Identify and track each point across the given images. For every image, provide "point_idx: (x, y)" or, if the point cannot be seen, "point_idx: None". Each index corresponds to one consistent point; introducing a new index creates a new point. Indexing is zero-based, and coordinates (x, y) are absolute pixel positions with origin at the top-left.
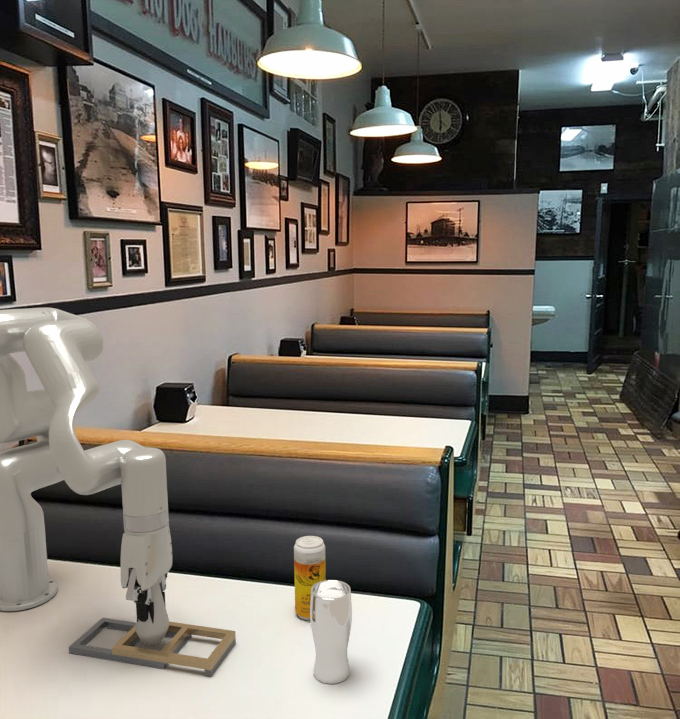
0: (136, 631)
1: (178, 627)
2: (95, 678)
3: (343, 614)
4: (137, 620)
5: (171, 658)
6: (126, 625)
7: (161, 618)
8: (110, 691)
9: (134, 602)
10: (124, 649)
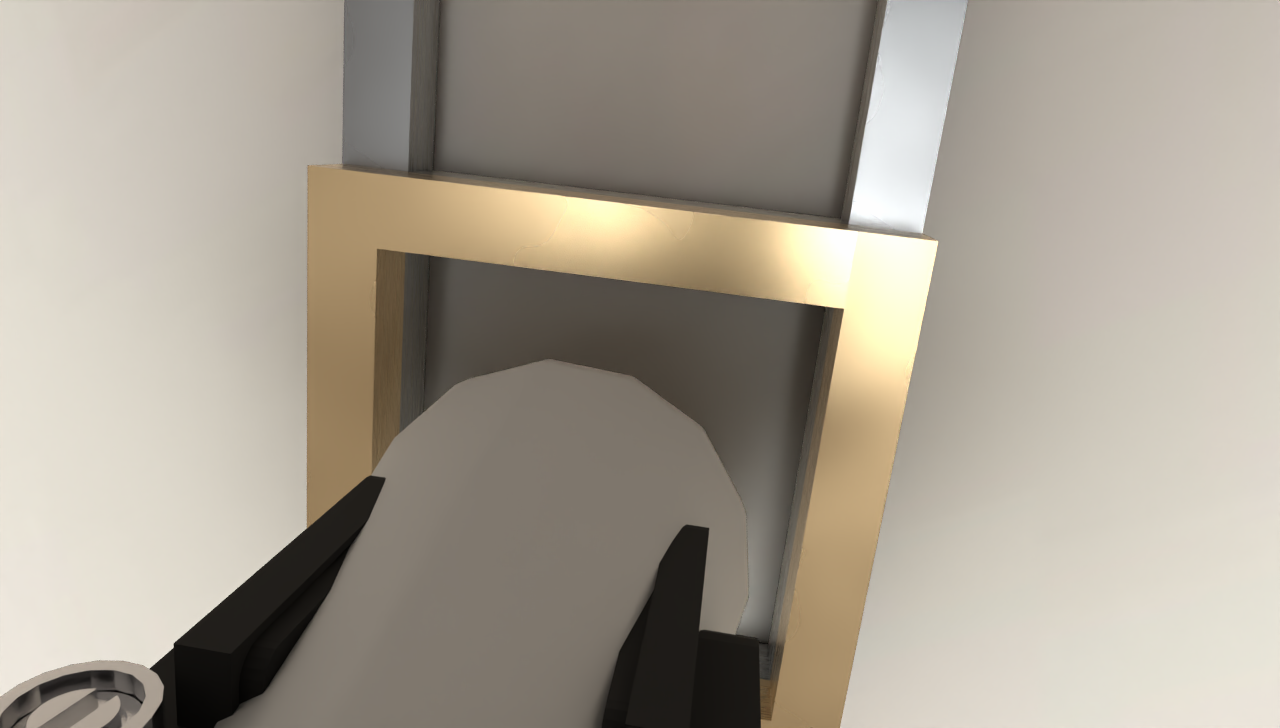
0: (425, 411)
1: (778, 678)
2: (129, 140)
3: None
4: (367, 485)
5: None
6: (879, 42)
7: None
8: (39, 342)
9: (44, 682)
10: (310, 315)
